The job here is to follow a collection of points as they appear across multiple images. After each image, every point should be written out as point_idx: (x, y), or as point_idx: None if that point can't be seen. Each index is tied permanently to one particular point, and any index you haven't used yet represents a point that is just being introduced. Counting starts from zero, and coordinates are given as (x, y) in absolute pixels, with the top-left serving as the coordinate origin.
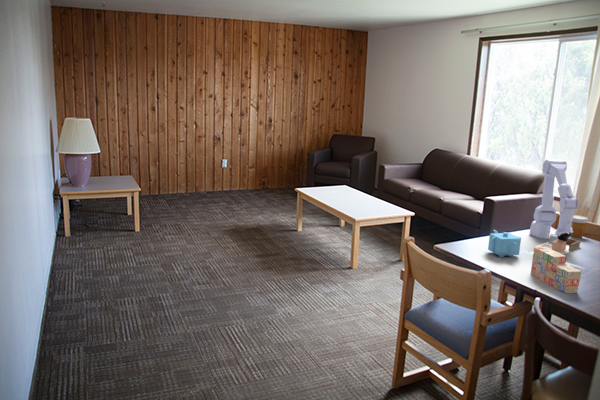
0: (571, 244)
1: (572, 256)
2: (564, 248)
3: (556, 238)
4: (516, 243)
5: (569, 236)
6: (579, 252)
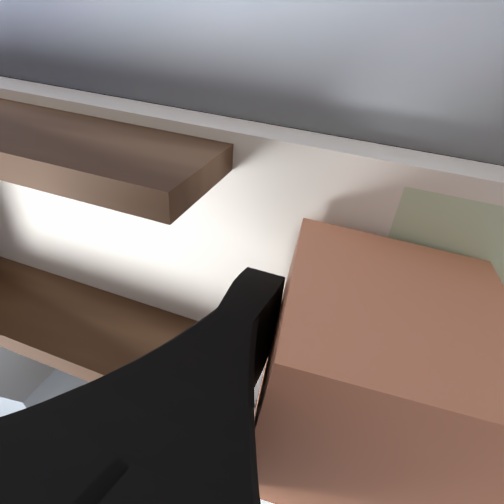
0: (120, 190)
1: (424, 21)
2: (349, 255)
3: (52, 394)
4: None
5: (8, 437)
6: (57, 15)
